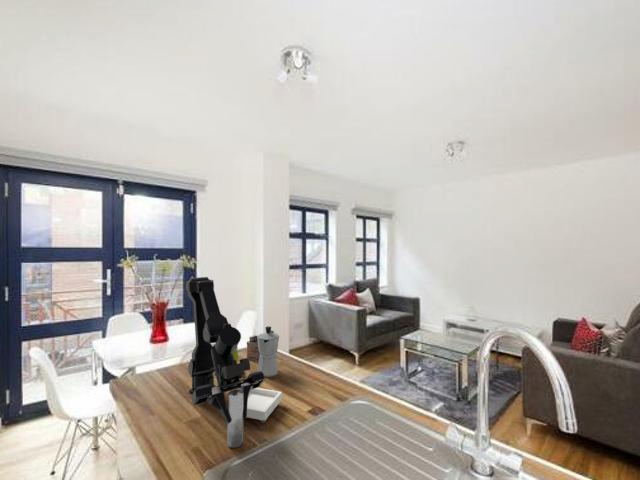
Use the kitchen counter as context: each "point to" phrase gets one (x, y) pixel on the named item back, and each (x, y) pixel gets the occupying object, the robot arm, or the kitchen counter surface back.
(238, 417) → the cylinder
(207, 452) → the kitchen counter surface
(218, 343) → the robot arm
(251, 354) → the lighter
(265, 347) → the coffee maker
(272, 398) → the white square tray
